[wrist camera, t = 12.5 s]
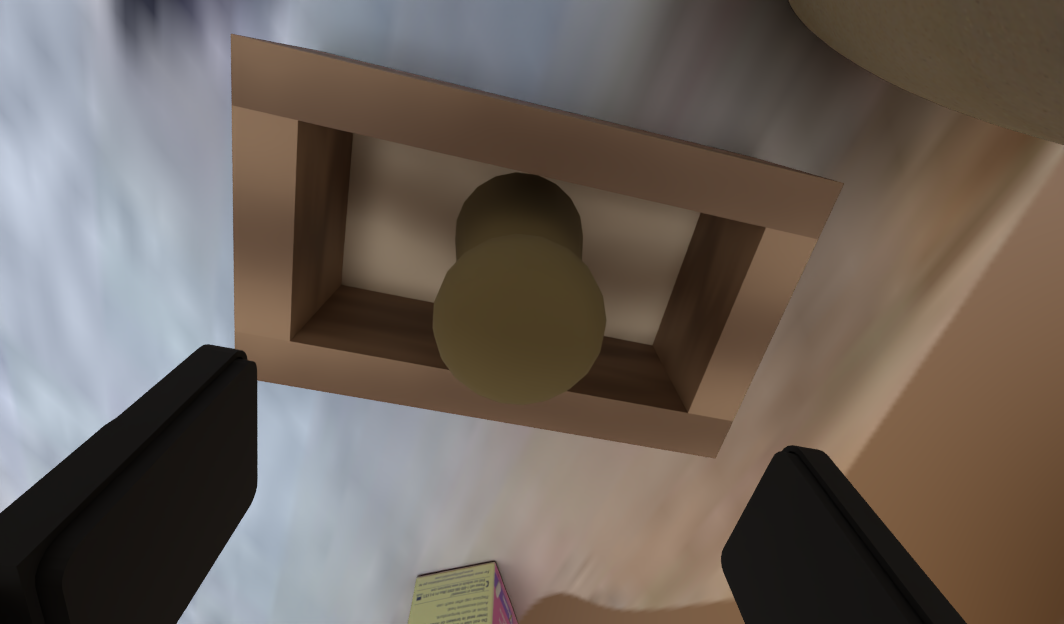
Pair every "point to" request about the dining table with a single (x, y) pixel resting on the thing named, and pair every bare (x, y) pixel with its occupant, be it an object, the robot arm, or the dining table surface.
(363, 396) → the walnut well caddy
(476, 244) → the olive brown gourd shape
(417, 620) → the box
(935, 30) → the plant pot
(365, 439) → the dining table surface
